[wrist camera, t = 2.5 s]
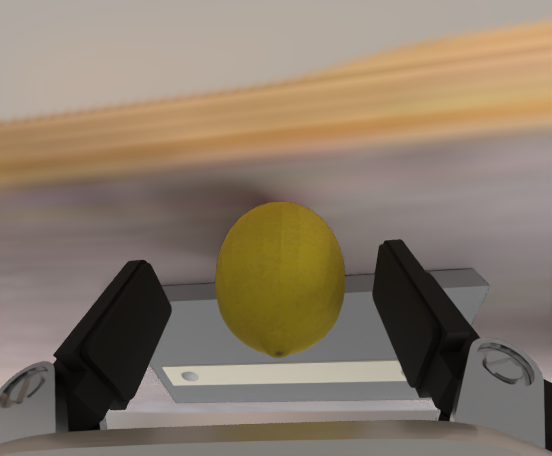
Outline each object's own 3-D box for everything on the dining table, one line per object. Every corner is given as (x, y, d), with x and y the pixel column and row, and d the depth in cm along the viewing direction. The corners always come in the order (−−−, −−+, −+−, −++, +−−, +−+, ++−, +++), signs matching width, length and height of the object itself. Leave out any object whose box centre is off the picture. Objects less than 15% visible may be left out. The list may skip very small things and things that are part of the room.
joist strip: (440, 358, 18) (442, 360, 18) (431, 379, 20) (432, 381, 20) (162, 365, 20) (161, 368, 20) (173, 384, 22) (173, 386, 22)
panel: (473, 268, 16) (490, 285, 14) (426, 381, 23) (434, 399, 22) (121, 288, 18) (109, 304, 16) (181, 386, 25) (175, 403, 24)
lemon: (267, 271, 16) (254, 409, 10) (215, 207, 14) (148, 332, 7) (344, 236, 15) (394, 374, 8) (300, 157, 12) (319, 258, 6)
